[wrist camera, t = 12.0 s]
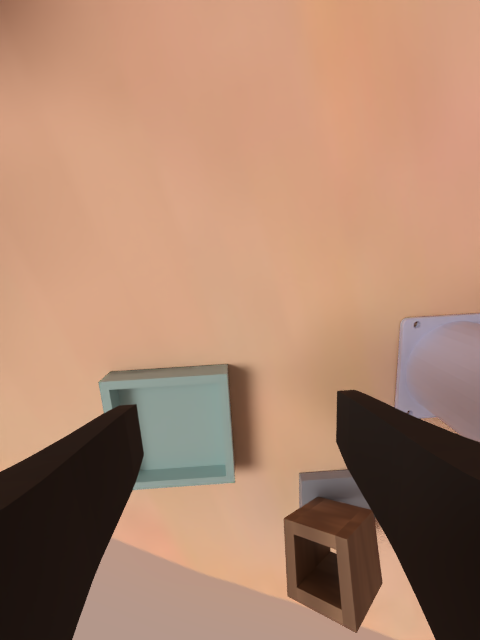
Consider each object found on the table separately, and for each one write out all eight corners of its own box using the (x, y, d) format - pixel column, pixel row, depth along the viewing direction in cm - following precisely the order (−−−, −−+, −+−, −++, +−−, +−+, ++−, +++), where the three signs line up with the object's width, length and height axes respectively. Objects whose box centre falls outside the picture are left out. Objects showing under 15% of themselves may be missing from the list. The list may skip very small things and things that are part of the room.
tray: (227, 364, 20) (227, 373, 18) (234, 464, 22) (234, 482, 20) (110, 371, 20) (98, 382, 18) (127, 472, 22) (117, 490, 20)
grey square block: (372, 468, 22) (401, 511, 18) (368, 527, 23) (396, 580, 20) (299, 473, 22) (313, 518, 18) (300, 532, 23) (313, 587, 19)
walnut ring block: (373, 510, 19) (347, 539, 15) (382, 583, 18) (356, 633, 14) (317, 496, 22) (283, 518, 18) (322, 559, 21) (287, 596, 17)
